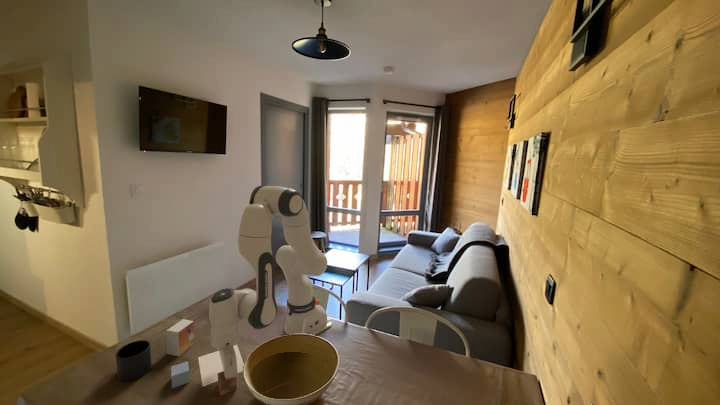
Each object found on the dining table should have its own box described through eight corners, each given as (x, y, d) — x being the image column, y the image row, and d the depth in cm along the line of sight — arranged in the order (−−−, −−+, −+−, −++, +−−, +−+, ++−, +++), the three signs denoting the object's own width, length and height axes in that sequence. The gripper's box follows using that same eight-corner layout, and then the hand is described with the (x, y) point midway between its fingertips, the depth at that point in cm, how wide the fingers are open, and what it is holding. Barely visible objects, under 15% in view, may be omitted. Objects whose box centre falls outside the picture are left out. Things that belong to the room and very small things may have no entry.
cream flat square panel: (236, 345, 113) (236, 344, 113) (246, 370, 100) (246, 369, 100) (198, 358, 104) (198, 357, 104) (202, 387, 92) (202, 386, 92)
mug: (132, 358, 103) (130, 336, 101) (158, 364, 100) (156, 342, 99) (104, 377, 93) (101, 354, 92) (132, 384, 91) (130, 361, 90)
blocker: (233, 380, 96) (233, 367, 95) (236, 389, 92) (236, 376, 91) (218, 386, 93) (217, 373, 92) (220, 396, 89) (219, 383, 88)
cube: (188, 373, 97) (188, 361, 96) (189, 383, 93) (189, 370, 92) (171, 379, 94) (171, 366, 94) (172, 389, 90) (171, 376, 90)
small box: (179, 357, 104) (177, 332, 103) (167, 354, 105) (165, 330, 104) (195, 343, 112) (194, 320, 110) (184, 341, 113) (182, 318, 111)
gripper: (241, 350, 86) (243, 387, 89) (229, 317, 103) (231, 349, 105) (219, 358, 83) (221, 396, 85) (211, 323, 99) (213, 355, 102)
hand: (227, 370), depth 96 cm, fingers closed
